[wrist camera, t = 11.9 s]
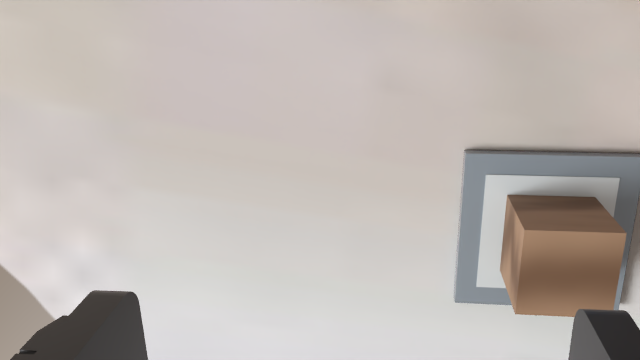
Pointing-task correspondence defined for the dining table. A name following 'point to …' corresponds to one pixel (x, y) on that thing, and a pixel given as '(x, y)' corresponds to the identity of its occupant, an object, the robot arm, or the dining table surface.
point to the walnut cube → (560, 254)
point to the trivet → (532, 179)
